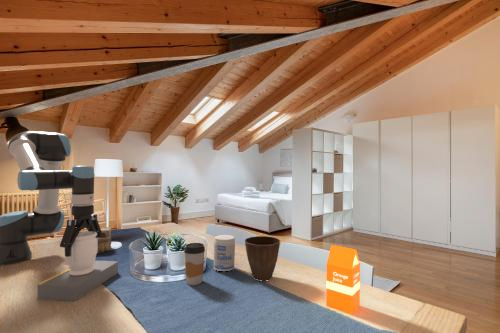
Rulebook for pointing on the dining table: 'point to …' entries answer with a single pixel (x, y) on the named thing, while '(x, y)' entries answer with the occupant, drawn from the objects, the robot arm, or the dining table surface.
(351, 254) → the orange juice
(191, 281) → the coffee cup
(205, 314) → the dining table surface
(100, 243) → the wicker basket
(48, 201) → the robot arm
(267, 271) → the plant pot
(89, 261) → the jar
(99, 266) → the dock
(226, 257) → the supplement tub
